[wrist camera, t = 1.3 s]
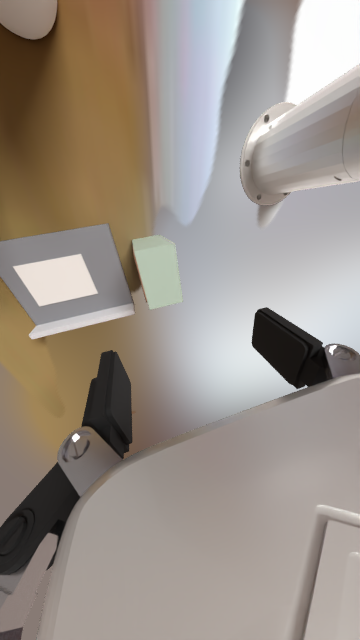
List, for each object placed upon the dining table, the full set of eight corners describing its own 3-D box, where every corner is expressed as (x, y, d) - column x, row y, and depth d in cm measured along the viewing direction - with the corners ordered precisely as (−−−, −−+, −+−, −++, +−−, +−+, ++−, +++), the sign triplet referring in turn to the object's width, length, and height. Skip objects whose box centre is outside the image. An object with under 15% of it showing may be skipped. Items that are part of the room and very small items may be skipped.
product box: (159, 234, 31) (174, 243, 21) (167, 277, 35) (183, 301, 25) (130, 240, 30) (132, 251, 20) (142, 283, 34) (148, 310, 24)
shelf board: (108, 223, 28) (105, 224, 24) (134, 304, 36) (135, 315, 32) (-16, 243, 25) (-40, 248, 21) (43, 326, 33) (32, 340, 30)
